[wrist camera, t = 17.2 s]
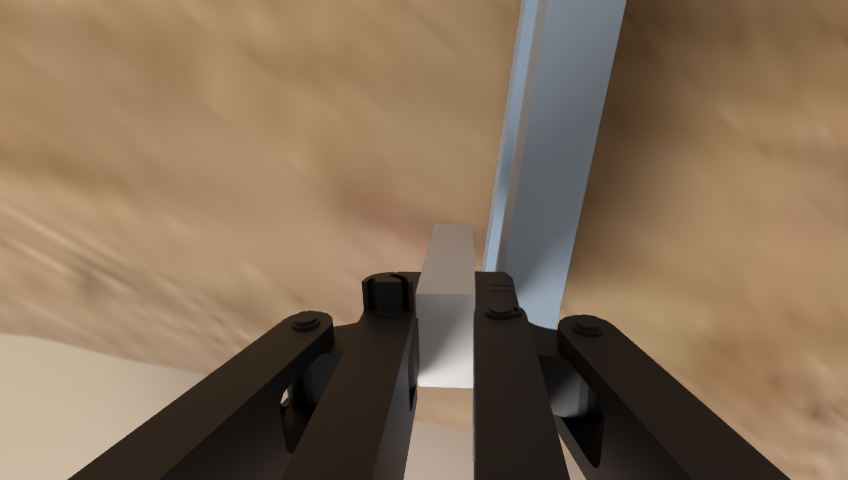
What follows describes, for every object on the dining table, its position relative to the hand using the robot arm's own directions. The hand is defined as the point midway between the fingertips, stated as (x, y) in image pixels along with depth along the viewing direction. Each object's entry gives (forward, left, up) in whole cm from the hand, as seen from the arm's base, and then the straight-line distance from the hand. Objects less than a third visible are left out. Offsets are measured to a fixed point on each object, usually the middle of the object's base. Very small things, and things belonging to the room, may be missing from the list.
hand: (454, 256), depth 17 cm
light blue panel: (-3, +3, -6) cm, 7 cm away
